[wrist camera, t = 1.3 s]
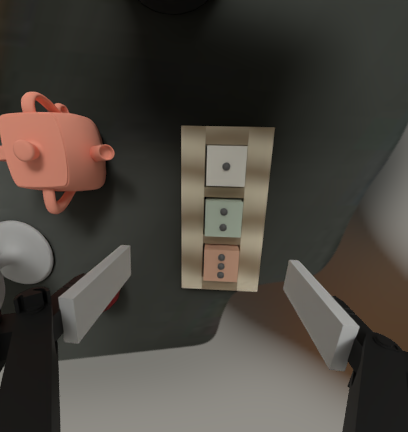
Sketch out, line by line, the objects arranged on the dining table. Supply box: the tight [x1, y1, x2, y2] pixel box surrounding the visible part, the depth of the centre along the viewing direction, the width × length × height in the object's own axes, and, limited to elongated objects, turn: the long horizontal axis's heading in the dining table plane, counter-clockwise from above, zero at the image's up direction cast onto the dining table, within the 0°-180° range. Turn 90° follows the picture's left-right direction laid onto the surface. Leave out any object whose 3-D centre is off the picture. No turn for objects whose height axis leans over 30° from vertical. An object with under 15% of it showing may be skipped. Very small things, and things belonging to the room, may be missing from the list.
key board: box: [181, 126, 275, 292], centre depth 29 cm, size 24×12×3 cm, turn 178°
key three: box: [203, 243, 240, 282], centre depth 29 cm, size 5×5×3 cm
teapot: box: [0, 92, 115, 214], centre depth 24 cm, size 12×12×10 cm
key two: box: [205, 198, 243, 238], centre depth 27 cm, size 5×5×3 cm
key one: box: [206, 145, 248, 187], centre depth 25 cm, size 5×5×3 cm
